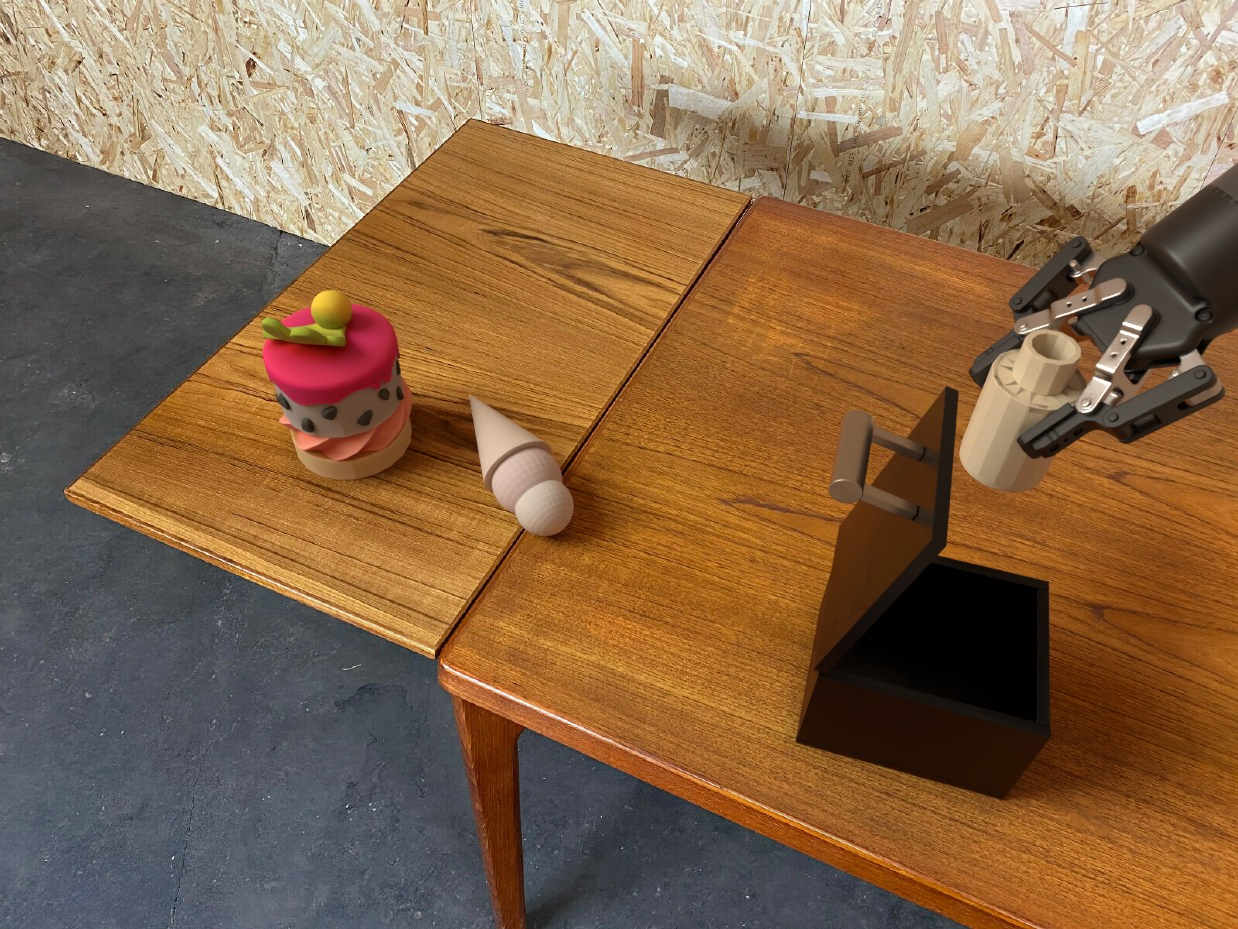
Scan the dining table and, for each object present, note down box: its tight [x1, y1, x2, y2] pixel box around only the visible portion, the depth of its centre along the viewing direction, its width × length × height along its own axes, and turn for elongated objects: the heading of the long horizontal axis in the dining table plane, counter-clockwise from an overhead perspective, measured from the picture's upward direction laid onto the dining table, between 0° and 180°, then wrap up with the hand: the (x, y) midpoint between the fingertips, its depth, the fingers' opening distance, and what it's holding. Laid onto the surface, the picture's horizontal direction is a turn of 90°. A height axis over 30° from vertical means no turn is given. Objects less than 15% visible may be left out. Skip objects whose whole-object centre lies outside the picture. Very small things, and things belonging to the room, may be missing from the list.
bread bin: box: [795, 554, 1052, 800], centre depth 64 cm, size 14×12×9 cm
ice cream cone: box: [468, 393, 575, 537], centre depth 77 cm, size 6×6×15 cm
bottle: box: [958, 329, 1088, 493], centre depth 60 cm, size 6×6×10 cm
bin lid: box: [814, 385, 960, 674], centre depth 56 cm, size 14×12×6 cm
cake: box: [261, 289, 413, 481], centre depth 77 cm, size 10×11×15 cm
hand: (1000, 414), depth 60 cm, fingers closed on bottle, 5 cm apart
